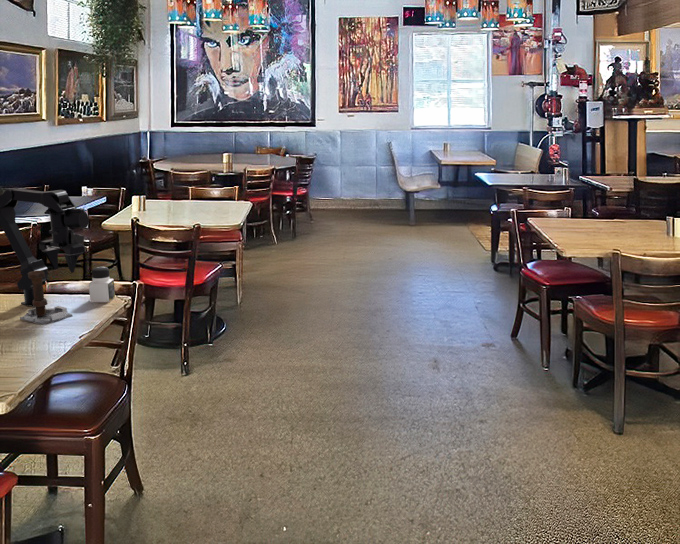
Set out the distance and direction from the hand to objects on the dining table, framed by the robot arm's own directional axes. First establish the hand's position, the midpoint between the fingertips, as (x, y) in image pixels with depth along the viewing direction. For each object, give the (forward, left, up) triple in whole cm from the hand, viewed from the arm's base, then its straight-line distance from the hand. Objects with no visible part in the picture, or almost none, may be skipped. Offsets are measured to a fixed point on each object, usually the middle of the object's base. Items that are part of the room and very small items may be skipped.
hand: (64, 271), depth 282 cm
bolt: (+3, -13, -13) cm, 18 cm away
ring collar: (+5, -12, -13) cm, 19 cm away
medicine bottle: (+3, +13, -13) cm, 19 cm away
